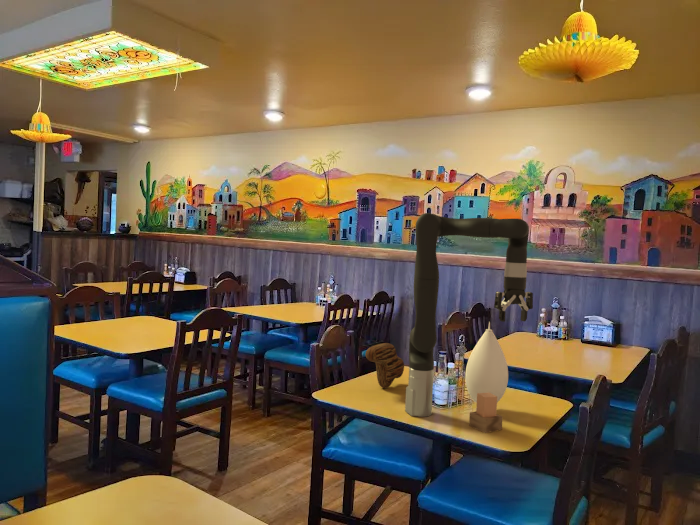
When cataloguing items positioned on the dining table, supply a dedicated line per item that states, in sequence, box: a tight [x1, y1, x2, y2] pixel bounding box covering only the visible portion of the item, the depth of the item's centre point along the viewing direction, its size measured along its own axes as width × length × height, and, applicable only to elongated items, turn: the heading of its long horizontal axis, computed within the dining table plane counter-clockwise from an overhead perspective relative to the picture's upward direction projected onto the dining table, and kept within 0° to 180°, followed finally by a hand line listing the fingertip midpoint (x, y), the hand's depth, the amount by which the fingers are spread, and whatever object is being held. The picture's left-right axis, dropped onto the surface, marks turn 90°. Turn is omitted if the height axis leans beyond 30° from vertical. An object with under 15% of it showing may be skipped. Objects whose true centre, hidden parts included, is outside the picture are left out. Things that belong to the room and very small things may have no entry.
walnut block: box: [468, 411, 504, 434], centre depth 194 cm, size 8×8×5 cm
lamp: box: [464, 321, 509, 404], centre depth 213 cm, size 16×16×35 cm
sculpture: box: [364, 342, 405, 389], centre depth 238 cm, size 26×8×20 cm, turn 145°
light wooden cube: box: [475, 393, 498, 417], centre depth 194 cm, size 5×5×7 cm
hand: (512, 321), depth 194 cm, fingers open, 8 cm apart
